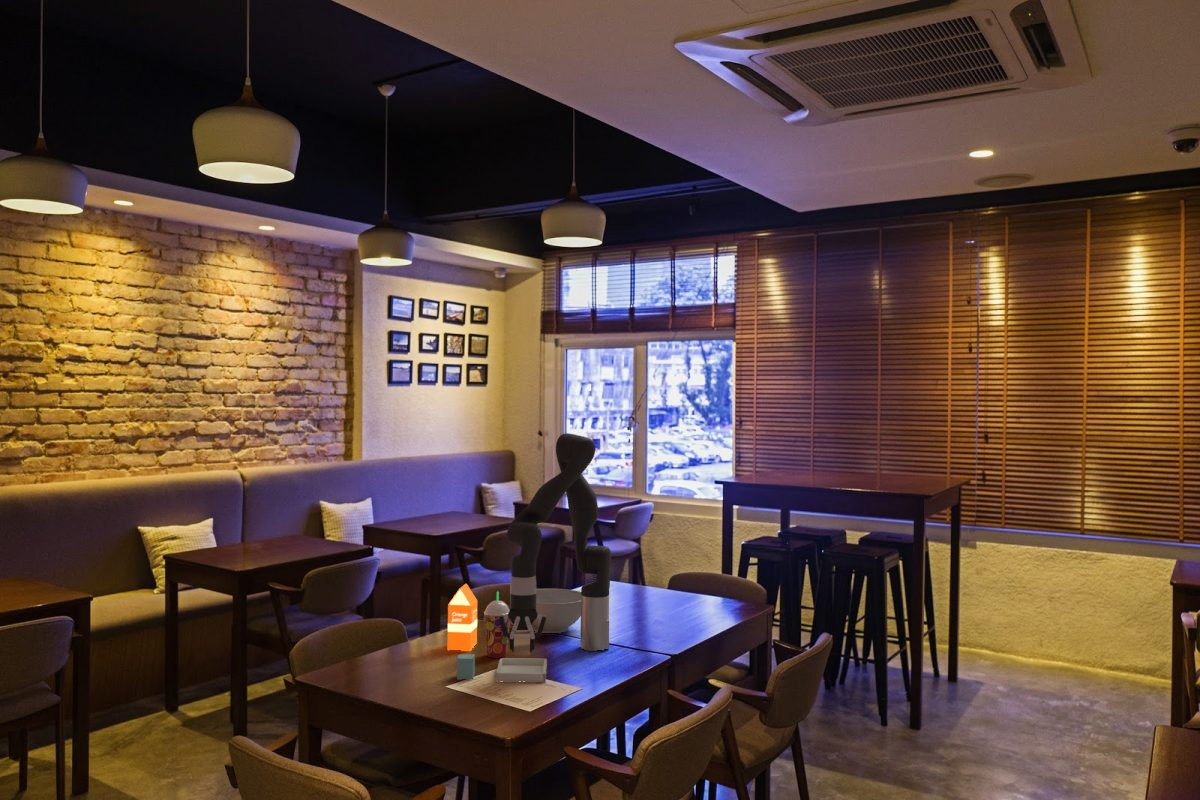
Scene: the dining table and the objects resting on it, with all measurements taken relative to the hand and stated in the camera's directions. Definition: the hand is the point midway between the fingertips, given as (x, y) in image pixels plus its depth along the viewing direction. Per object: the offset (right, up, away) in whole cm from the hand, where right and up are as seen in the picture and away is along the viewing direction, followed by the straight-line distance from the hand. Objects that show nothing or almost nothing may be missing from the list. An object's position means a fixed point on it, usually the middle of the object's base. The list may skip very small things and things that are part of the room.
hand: (522, 651), depth 252 cm
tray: (0, -8, +4) cm, 9 cm away
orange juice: (-22, -9, +33) cm, 41 cm away
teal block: (-16, -8, 0) cm, 18 cm away
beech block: (0, -1, 0) cm, 1 cm away
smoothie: (-10, -8, +24) cm, 27 cm away
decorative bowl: (+5, -9, +58) cm, 59 cm away
